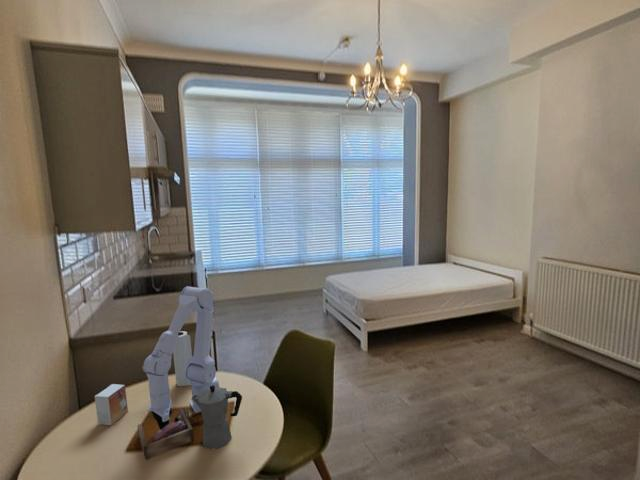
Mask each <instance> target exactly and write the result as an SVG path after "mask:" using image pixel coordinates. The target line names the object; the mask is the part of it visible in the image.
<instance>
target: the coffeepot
mask: <svg viewBox="0 0 640 480" xmlns="http://www.w3.org/2000/svg"><path fill="white" fill-rule="evenodd" d="M232 398H236V399H235V406H234V408H233V410H234V411H233V412H232V413H230V417H237V416H238V414H239V410H240V406H241V403H242V400H243V395H242V394H241V393H240V392H238V390H237V391H233V390H230V391H228V389H227V387H220V386H219V387H215V386H214V385H212V386H210V389H207V390H204V391H203V392H202V393H200V394H197V395H195V396H193V397H192V396H191V401H193V400H194V401H195V403H196V404H197V405H198V406H199V407H200V409H201V412H200V413H201V416H202V420H203V423H202V435H201V442H202V446H203V448H206V449H208V450H216V449H220V448H222V447H224V446H227V444H229V442H230V441H231V439H232V433H231V430H230V425H229V421H228V418H227V414H228V404H229V403H228V402H229V400H230V399H232Z"/></svg>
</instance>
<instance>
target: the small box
mask: <svg viewBox="0 0 640 480" xmlns="http://www.w3.org/2000/svg"><path fill="white" fill-rule="evenodd" d="M94 402H95V403H94V404H95V410H96V417H97V424H98V425H102V426H103V425H106V426H113V425H114V424H115V423H116V422H118V421H119V419H121V418H122V417H124V416H125V415H126V414H127V413H128V412H129V408H128V400H127V391H126V385H125V384H116V383H111V384H109V386H107V387H106V388H105V389H103V390H101V391H100V392H99V393H97V394H96V395H94Z"/></svg>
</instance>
